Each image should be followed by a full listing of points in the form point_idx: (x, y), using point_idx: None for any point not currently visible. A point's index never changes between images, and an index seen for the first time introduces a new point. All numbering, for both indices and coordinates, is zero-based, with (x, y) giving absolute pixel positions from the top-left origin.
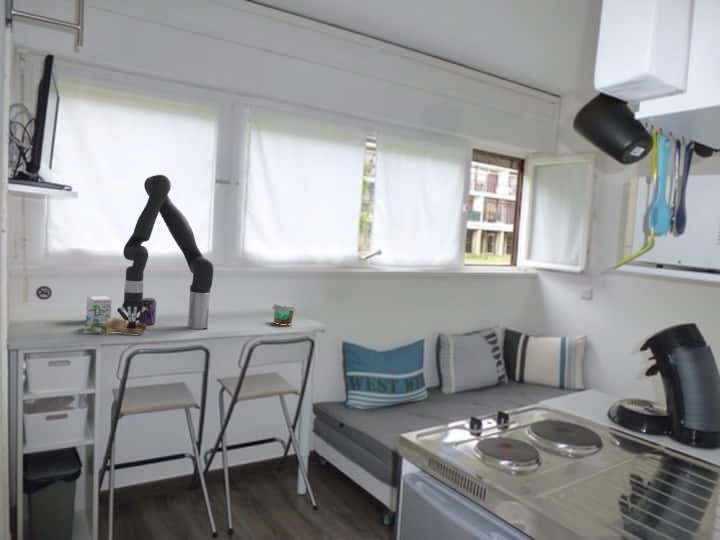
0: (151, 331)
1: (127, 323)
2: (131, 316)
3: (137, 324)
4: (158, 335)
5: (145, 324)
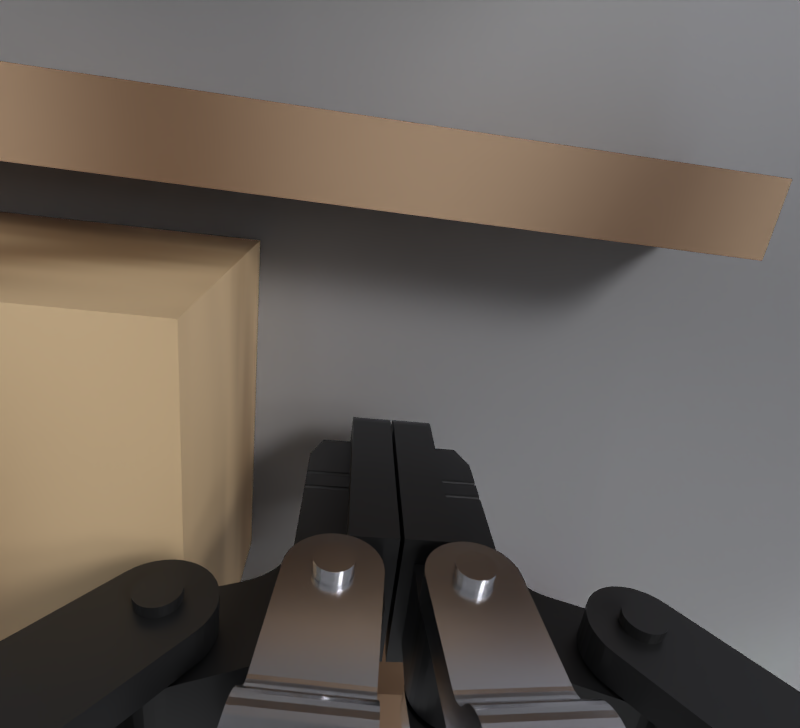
0: (755, 365)
1: (238, 147)
2: (356, 696)
3: (530, 228)
4: (785, 621)
5: (743, 256)
